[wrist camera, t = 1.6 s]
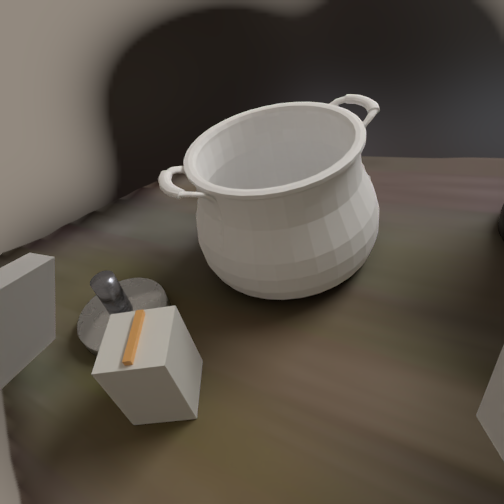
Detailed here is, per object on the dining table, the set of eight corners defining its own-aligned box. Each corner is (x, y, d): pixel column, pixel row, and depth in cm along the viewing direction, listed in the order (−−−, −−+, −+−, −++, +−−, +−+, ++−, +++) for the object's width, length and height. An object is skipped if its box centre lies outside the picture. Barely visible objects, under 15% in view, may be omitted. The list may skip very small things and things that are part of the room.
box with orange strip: (145, 367, 50) (108, 310, 43) (202, 361, 49) (173, 301, 42) (133, 425, 44) (88, 370, 37) (196, 418, 43) (162, 361, 37)
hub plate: (98, 293, 61) (72, 253, 56) (176, 282, 60) (157, 240, 54) (72, 364, 52) (38, 324, 47) (163, 353, 51) (138, 310, 45)
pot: (238, 354, 48) (195, 242, 37) (175, 244, 66) (134, 146, 55) (431, 250, 54) (445, 126, 43) (326, 175, 72) (316, 74, 61)
